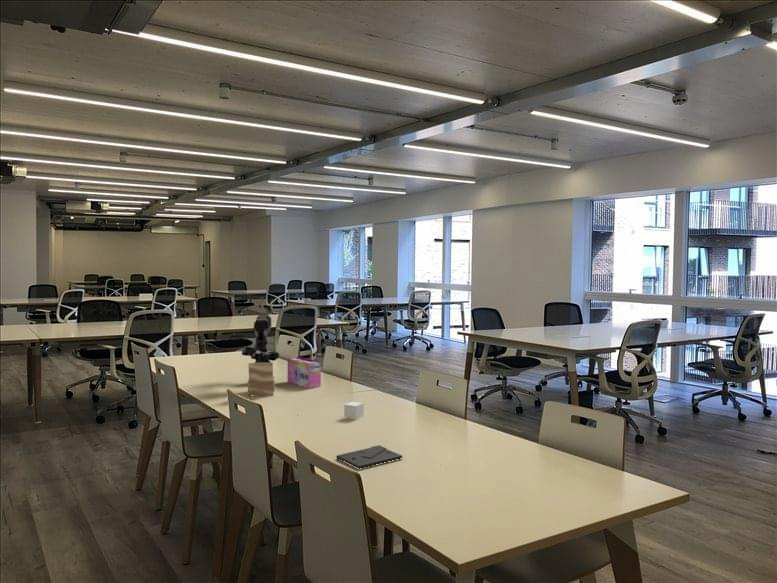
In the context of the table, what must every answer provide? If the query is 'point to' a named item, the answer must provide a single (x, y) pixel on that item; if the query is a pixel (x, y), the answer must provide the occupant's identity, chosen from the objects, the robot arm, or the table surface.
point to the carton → (261, 387)
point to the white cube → (353, 410)
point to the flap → (260, 372)
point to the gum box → (304, 372)
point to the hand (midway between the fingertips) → (260, 368)
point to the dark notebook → (369, 456)
